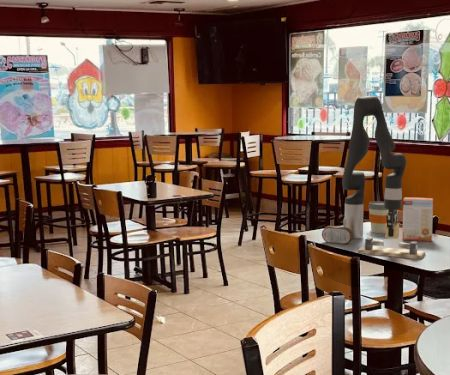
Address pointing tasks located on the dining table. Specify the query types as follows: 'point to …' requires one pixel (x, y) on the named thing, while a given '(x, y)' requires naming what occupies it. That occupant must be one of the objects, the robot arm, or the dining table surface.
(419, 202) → the cracker box
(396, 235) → the coupler
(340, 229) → the tin
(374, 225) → the reusable coffee cup
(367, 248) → the shaft rig
